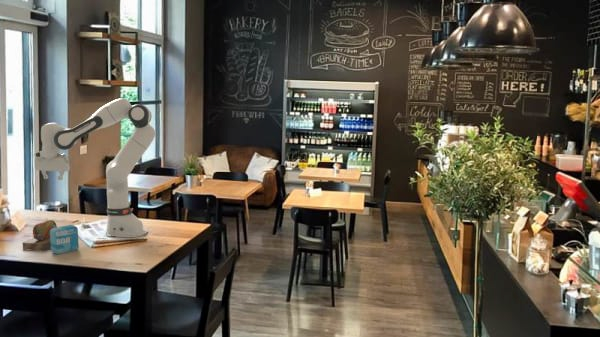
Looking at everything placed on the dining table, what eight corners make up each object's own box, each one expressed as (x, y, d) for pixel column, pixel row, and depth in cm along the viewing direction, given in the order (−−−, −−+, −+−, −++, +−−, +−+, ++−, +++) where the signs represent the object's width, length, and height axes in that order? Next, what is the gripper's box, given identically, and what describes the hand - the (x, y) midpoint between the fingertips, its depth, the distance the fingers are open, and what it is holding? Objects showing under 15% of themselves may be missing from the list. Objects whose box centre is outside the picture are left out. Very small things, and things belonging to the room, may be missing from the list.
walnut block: (68, 241, 314) (68, 233, 313) (44, 252, 295) (44, 244, 294) (48, 239, 317) (47, 232, 316) (23, 250, 297) (22, 242, 297)
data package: (55, 254, 288) (53, 230, 286) (50, 253, 291) (49, 228, 289) (79, 249, 297) (77, 225, 295) (74, 247, 300) (73, 224, 298)
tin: (37, 242, 297) (36, 225, 296) (32, 241, 298) (30, 225, 297) (57, 234, 312) (56, 218, 311) (52, 234, 313) (51, 218, 311)
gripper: (71, 153, 319) (73, 179, 322) (40, 152, 326) (42, 177, 328) (63, 154, 314) (64, 181, 316) (31, 153, 320) (33, 179, 322)
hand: (53, 179), depth 322 cm, fingers open, 8 cm apart
